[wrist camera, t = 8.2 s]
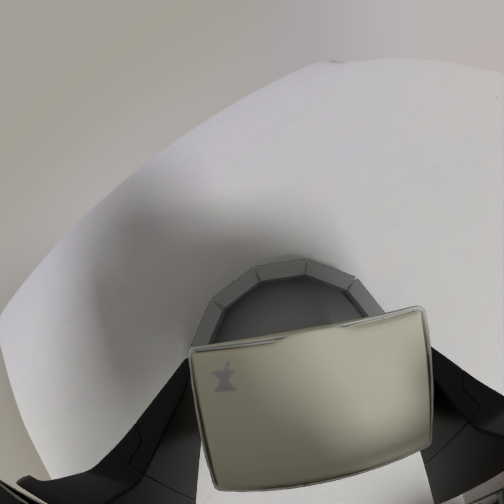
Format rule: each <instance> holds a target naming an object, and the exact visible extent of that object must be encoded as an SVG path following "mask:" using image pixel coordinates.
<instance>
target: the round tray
mask: <svg viewBox="0 0 504 504" xmlns="http://www.w3.org/2000/svg"><path fill="white" fill-rule="evenodd" d="M255 270H256V271H255ZM255 270H254V269H253V267H252V268H251V269H250V270H248V271H247V272H246V273H244V274H243V275H242V276H241V277H239V278H238V279H237V280H235V281H234V282H233V283H231V284H230V285H229V286H227V287H226V288H225V289H224V290H222V291H221V292H220V293H218V294H217V295H216V296H214V297H213V298H212V299H213V300H214V302H213V301H211V300H210V302H209V305H208V307H207V309H206V312H205V314H204V316H203V319H202V321H201V323H200V326H199V328H198V330H197V333H196V335H195V337H194V340H193V342H192V344H191V346H192V347H198V346H204V345H210V344H216V343H222V342H229V341H235V340H241V339H246V338H252V337H257V336H263V335H269V334H275V333H280V332H286V331H292V330H298V329H304V328H309V327H315V326H321V325H327V324H333V323H338V322H344V321H349V320H354V319H359V318H364V317H369V316H374V315H378V314H383V313H385V312H384V311H383V309H382V308H381V307H380V306H379V304H378V303H377V302H376V301H375V299H374V298H373V297H372V295H371V294H370V293H369V292H368V290H367V289H366V288H365V287H364V286H363V284H362V283H361V282H360V281H359V279H358V278H357V279H356V280H354V279H355V276H353V275H350V274H347V273H345V272H342V271H339V270H337V269H334V268H331V267H329V266H326V265H323V264H321V263H318V262H315V261H313V260H310V259H308V261H307V264H306V259H300V260H293V261H287V262H280V263H274V264H267V265H260V266H255Z"/></svg>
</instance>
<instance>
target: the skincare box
mask: <svg viewBox="0 0 504 504" xmlns="http://www.w3.org/2000/svg"><path fill="white" fill-rule="evenodd" d="M188 358H189V367H190V372H191V383H192V390H193V395H194V402H195V409H196V415H197V420H198V426H199V431H200V436H201V441H202V445H203V450H204V454H205V458H206V461H207V465H208V468H209V471H210V474H211V478H212V482H213V485H214V487H215V489H217V490H219V491H236V492H252V491H273V490H282V489H292V488H299V487H306V486H311V485H316V484H322V483H326V482H331V481H335V480H339V479H343V478H347V477H351V476H354V475H358V474H361V473H365V472H367V471H370V470H374V469H377V468H380V467H383V466H385V465H388V464H390V463H393V462H395V461H398V460H401V459H403V458H405V457H407V456H409V455H412V454H414V453H416V452H418V451H421V450H423V449H425V448H427V447H428V446H430V445H431V442H432V425H433V392H434V387H433V370H432V354H431V344H430V337H429V329H428V321H427V316H426V312H425V310H424V309H423V308H422V307H420V306H412V307H408V308H404V309H400V310H396V311H391V312H387V313H383V314H378V315H374V316H369V317H364V318H359V319H354V320H349V321H344V322H338V323H333V324H327V325H321V326H315V327H309V328H304V329H298V330H292V331H286V332H280V333H275V334H269V335H263V336H257V337H252V338H246V339H241V340H235V341H229V342H222V343H216V344H210V345H204V346H198V347H192V348H190V349H189V351H188Z"/></svg>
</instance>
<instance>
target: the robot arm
mask: <svg viewBox="0 0 504 504" xmlns="http://www.w3.org/2000/svg"><path fill="white" fill-rule="evenodd" d="M431 354H432V370H433V387H434V392H433V425H432V442H431V445H430V446H428V447H427V448H425V449H423V450H421V451H420V452H421V455H422V459H423V462H424V464H425V465H424V466H425V470H426V473H427V477H428V481H429V484H430V488H431V492H432V497H433V501H434V504H441V503H443V502H445V501H448V500H450V499H452V498H455V497H457V496H459V495H461V494H462V495H463V499H464V503H465V504H504V396H503V395H501V394H500V393H498V392H496V391H495V390H493V389H491V388H489V387H488V386H486V385H485V384H483V383H481V382H480V381H478V380H477V379H475V378H474V377H472V376H471V375H470V374H468V373H467V372H466V371H464V370H462V369H461V368H460V367H459V366H457V365H456V364H455V363H453V362H452V361H450V360H449V359H448V358H446V357H445V356H444V355H442V354H441V353H439V352H438V351H437V350H435V349H434V348H433V347H431ZM136 423H137V424H136ZM136 423H135V424H134V426H133V427H132V428H131V429H130V431H129V432H128V433H127V434H126V435H125V437H124V438H123V439H122V440H121V441H120V442H119V443H118V444H117V445H116V446H115V447H114V448H113V449H112V450H111V451H110V452H109V453H108V454H107V455H106V456H105V457H104V458H103V459H102V460H101V461H100V462H99V463H98V464H97V465H96V466H95V467H93V468H92V469H90V470H88V471H86V472H83V473H79V474H75V475H71V476H67V477H63V478H59V479H54V480H49V481H40V480H37V479H35V478H34V477H32V476H30V475H28V476H25V477H22V478H20V479H19V480H18V481H17V482H16V483H17V484H18V485H19V486H20V487H22V488H23V489H25V490H26V491H28V492H30V493H31V494H33V495H34V496H36V497H37V498H39V499H41V500H42V501H44V502H46V503H48V504H196V493H197V481H198V470H199V459H200V448H201V436H200V431H199V426H198V420H197V415H196V409H195V402H194V395H193V390H192V383H191V372H190V367H189V358H186V359H185V360H184V361H183V362H182V364H181V365H180V366H179V368H178V369H177V370H176V371H175V373H174V374H173V375H172V377H171V378H170V379H169V381H168V382H167V383H166V384H165V386H164V387H163V388H162V390H161V391H160V392H159V394H158V395H157V396H156V397H155V399H154V400H153V401H152V403H151V404H150V405H149V406H148V408H147V409H146V410H145V412H144V413H143V414H142V415H141V417H140V418H139V419H138V421H137V422H136ZM0 504H44V503H42V502H39V501H38V500H36V499H33V498H32V497H29V496H28V495H26V494H24V493H22V492H20V491H18V490H16V489H15V488H13V487H11V486H10V485H8V484H6V483H5V482H3V481H2V480H0Z"/></svg>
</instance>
